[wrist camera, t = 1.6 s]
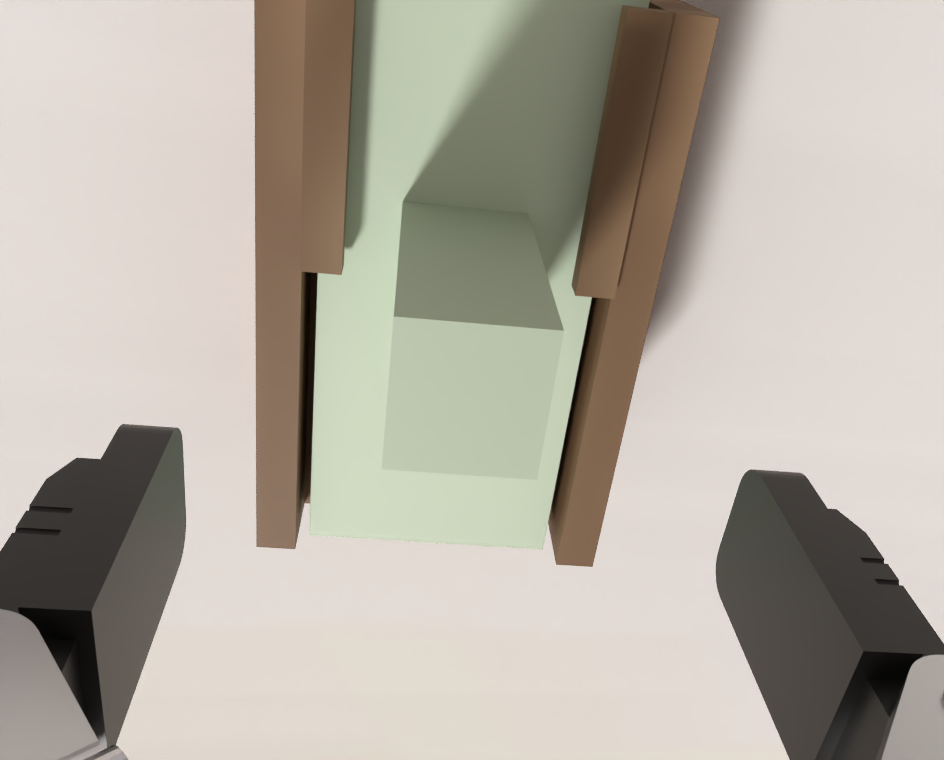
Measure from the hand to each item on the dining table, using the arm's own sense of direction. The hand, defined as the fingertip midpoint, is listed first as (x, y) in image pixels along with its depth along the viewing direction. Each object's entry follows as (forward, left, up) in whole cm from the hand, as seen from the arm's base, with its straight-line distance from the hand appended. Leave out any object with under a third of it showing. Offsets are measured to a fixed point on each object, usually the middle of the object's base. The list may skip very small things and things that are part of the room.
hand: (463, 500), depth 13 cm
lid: (0, 0, -10) cm, 10 cm away
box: (0, +1, -14) cm, 14 cm away
